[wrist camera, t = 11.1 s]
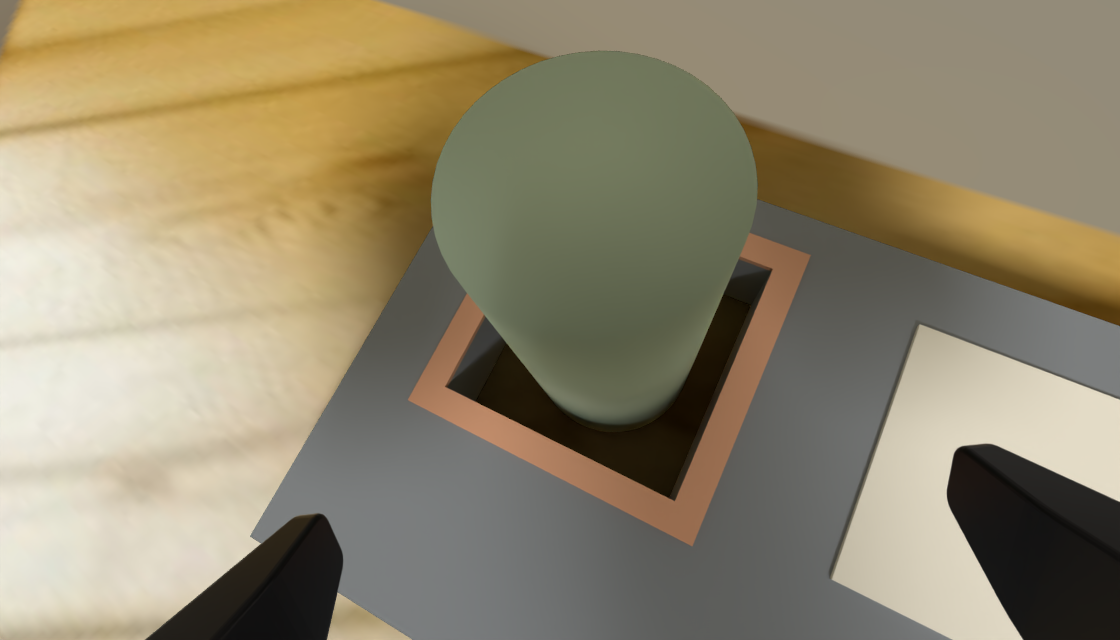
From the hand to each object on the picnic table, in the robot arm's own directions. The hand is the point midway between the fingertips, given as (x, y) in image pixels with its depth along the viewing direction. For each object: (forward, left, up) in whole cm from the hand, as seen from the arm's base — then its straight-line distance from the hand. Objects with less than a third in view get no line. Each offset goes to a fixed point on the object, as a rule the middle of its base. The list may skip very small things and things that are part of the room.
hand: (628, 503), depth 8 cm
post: (+1, +4, -10) cm, 11 cm away
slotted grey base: (+3, -1, -10) cm, 11 cm away
